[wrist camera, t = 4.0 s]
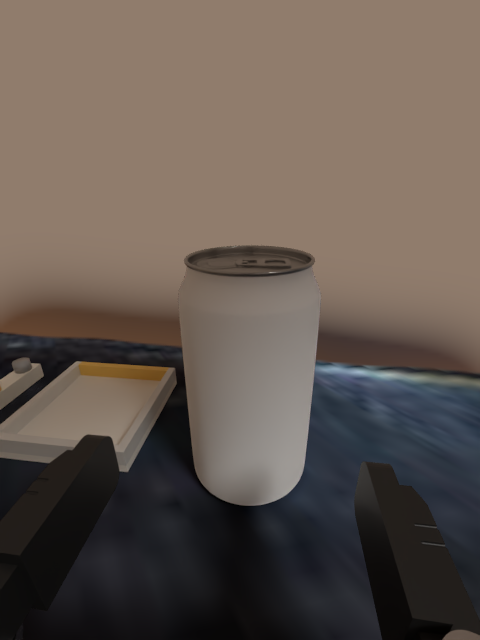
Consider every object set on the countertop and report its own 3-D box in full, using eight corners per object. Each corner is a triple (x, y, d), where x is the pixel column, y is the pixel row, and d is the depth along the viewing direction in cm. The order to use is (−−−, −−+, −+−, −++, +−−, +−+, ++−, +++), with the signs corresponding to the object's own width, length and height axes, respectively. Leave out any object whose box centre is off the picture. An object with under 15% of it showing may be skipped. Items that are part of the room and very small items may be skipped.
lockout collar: (176, 383, 25) (175, 367, 24) (127, 472, 17) (123, 452, 17) (80, 376, 26) (76, 361, 26) (-7, 456, 18) (-16, 437, 18)
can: (204, 418, 21) (191, 243, 16) (297, 422, 21) (313, 244, 16) (181, 508, 15) (151, 275, 10) (312, 516, 15) (342, 276, 10)
